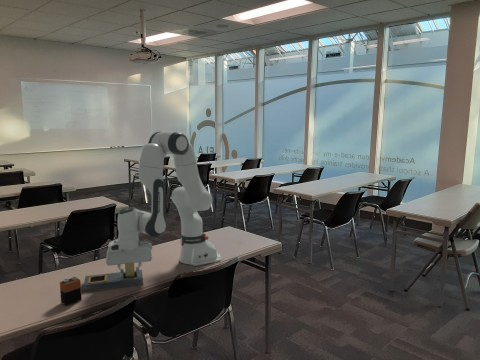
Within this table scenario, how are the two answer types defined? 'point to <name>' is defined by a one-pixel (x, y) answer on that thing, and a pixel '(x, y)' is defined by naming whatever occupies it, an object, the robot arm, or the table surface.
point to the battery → (70, 290)
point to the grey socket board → (111, 281)
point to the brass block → (129, 270)
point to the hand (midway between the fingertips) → (129, 271)
